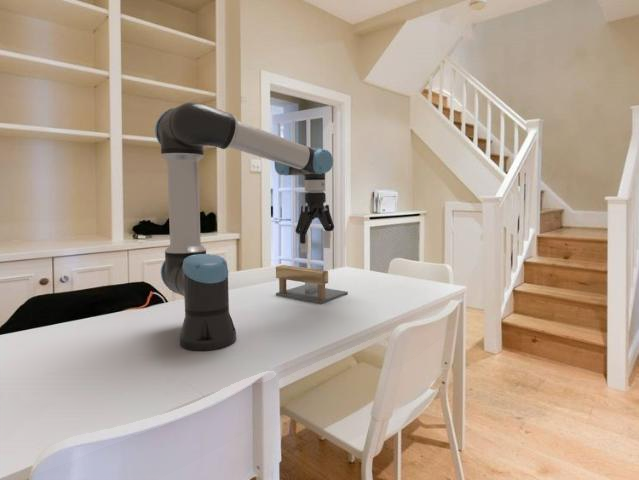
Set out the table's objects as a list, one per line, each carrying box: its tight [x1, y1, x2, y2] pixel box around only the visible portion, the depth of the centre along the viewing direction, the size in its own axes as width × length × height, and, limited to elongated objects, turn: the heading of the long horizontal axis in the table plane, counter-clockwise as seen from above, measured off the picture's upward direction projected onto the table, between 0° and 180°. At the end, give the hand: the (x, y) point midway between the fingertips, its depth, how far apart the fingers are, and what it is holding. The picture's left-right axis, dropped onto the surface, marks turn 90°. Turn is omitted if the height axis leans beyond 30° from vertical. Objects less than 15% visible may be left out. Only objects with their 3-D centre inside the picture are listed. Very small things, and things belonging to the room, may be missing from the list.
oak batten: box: [275, 264, 329, 285], centre depth 160 cm, size 4×22×4 cm, turn 53°
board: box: [275, 278, 349, 305], centre depth 166 cm, size 18×22×7 cm
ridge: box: [304, 282, 318, 294], centre depth 168 cm, size 10×2×7 cm, turn 143°
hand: (316, 250), depth 155 cm, fingers open, 13 cm apart
